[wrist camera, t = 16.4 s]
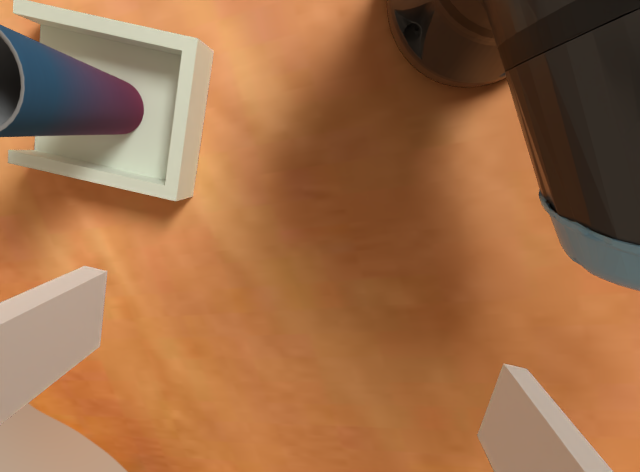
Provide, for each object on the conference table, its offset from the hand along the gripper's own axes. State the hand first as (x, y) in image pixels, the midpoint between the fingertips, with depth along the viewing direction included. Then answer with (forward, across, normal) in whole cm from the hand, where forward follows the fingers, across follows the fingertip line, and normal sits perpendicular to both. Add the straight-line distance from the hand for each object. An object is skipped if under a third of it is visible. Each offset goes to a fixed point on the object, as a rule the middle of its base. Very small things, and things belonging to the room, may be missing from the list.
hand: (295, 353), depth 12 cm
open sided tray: (+27, -22, +6) cm, 35 cm away
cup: (+26, -22, +6) cm, 34 cm away
